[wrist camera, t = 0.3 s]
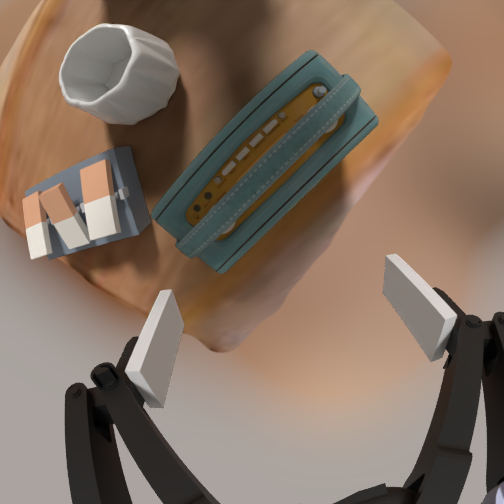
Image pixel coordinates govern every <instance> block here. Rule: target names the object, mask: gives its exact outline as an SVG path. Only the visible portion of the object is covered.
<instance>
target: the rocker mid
mask: <svg viewBox="0 0 504 504" xmlns="http://www.w3.org/2000/svg"><path fill="white" fill-rule="evenodd" d="M38 198H39V200H40V201H41V203H42V205H43V207H44V209H45V210H46V212H47V214H48V216H49V217H50V219H51V221H52V223H53V224H54V226H55V228H56V229H57V231H58V232H59V234H60V236H61V237H62V239H63V240H64V242H65V244H66V245H67V247H68V248H69V249H72V248H75V247H79V246H82V245H85V244H89V243H90V242H91V240H90V237H89V232H88V229H87V227H86V225H85V223H84V222H83V220H82V218H81V216H80V215H79V213H80V212H82V210H81V207H80V206H77V207H75V205H74V204H73V202H72V200H71V198H70V196H69V194H68V192H67V190H66V188H65V186H64V184H63V182H62V183H60V184H58V185H56V186H54V187H52V188H50V189H48V190H46V191H44V192H42V193H41V194H40V196H39V197H38Z"/></svg>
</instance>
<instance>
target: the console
mask: <svg viewBox="0 0 504 504" xmlns="http://www.w3.org/2000/svg"><path fill="white" fill-rule="evenodd" d="M104 159H106V160H109V161H110V164H111V172H112V180H113V187H114V193H115V192H119V195H120V199H117V200H116V207H117V212H118V218H119V223H120V228H121V233H117V234H113V235H110V236H106V237H103V238H100V239H96V240H91V242H90V243H89V244H85V245H82V246H79V247H75V248H72V249H69V248H68V247H67V245H66V244H65V242H64V240H63V239H62V237H61V236H60V234H59V232H58V231H57V229H56V228H55V226H54V224H53V223H52V221H51V219H50V221H51V224H50V225H48V231H49V237H50V242H51V248H52V253H51V254H48V255H47V257H48V259H49V260H51V259H54V258H57V257H61V256H64V255H67V254H71V253H74V252H77V251H81V250H84V249H88V248H91V247H95V246H98V245H102V244H106V243H109V242H113V241H117V240H120V239H124V238H128V237H132V236H136V235H139V234H140V233H141V232H142V231H143V230H144V229H145V228H146V227H147V226H148V225H149V224H150V223H151V222H152V221H151V218H150V215H149V212H148V208H147V205H146V202H145V199H144V195H143V192H142V188H141V185H140V181H139V178H138V174H137V170H136V167H135V163H134V159H133V155H132V151H131V147H130V146H124V147H117V148H112V149H110V150H107V151H105V152H103V153H100V154H98V155H96V156H93V157H91V158H89V159H87V160H84V161H82V162H80V163H78V164H76V165H74V166H72V167H70V168H68V169H66V170H64V171H62V172H60V173H58V174H56V175H54V176H52V177H50V178H48V179H46V180H44V181H43V182H41V183H39V184H37V185H35V186H34V187H32V188H30V189H28V190H27V191H25V194H26V197H28V196H30V195H31V194H33V193H35V192H37V191H46V190H48V189H50V188H52V187H54V186H56V185H58V184H60V183H62V182H63V184H64V186H65V188H66V190H67V192H68V194H69V196H70V198H71V200H72V202H73V204H74V205H75V207H77V206H80V207H81V210H82V212H80V213H79V215H80V216H81V218H82V220H83V222H84V223H85V225H86V227H87V229H88V226H87V221H86V215H85V208H84V201H83V194H82V185H81V176H80V170H81V169H83V168H86V167H88V166H90V165H92V164H95V163H97V162H99V161H102V160H104ZM46 217H47V219H48V218H50V217H49V216H48V214H47V212H46Z"/></svg>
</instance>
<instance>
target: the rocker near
mask: <svg viewBox="0 0 504 504" xmlns="http://www.w3.org/2000/svg"><path fill="white" fill-rule="evenodd" d="M80 176H81V185H82V194H83V201H84V208H85V215H86V221H87V226H88V232H89V237H90V240H96V239H100V238H103V237H106V236H110V235H113V234H117V233H121V228H120V223H119V218H118V212H117V207H116V200H117V199H120V195H119V192H115V193H114V187H113V180H112V172H111V164H110V161H109V160H106V159H104V160H102V161H99V162H97V163H95V164H92V165H90V166H88V167H86V168H83V169H81V170H80Z"/></svg>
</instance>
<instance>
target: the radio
mask: <svg viewBox="0 0 504 504" xmlns="http://www.w3.org/2000/svg"><path fill="white" fill-rule="evenodd" d="M360 92H361V88H360V87H359V86H358V84H357V83H356V82H355V81H354V80H353V79H352V78H351V77H350V76H349V75H348V74H343V75H340V74H339V73H338V72H337V71H336V70H335V69H334V68H333V67H332V66H331V65H330V64H329V63H328V62H327V61H326V60H325V59H324V58H323V57H322V56H321V55H319V54H318V52H316V51H314V50H309V51H307V52H305V53H304V54H303V55H301V56H300V57H299V58H298V59H297V60H295V61H294V62H293V63H292V64H291V65H289V66H288V67H287V68H286V69H285V70H284V71H282V72H281V73H280V74H279V75H278V76H277V77H276V78H274V79H273V80H272V81H271V82H270V83H269V84H268V85H267V86H266V87H264V88H263V89H262V90H261V91H260V92H259V93H258V94H257V95H256V96H255V97H254V98H253V99H252V100H251V101H249V102H248V103H247V104H246V105H245V106H244V107H243V108H242V109H241V110H240V111H239V112H238V113H237V114H236V115H235V116H234V117H233V118H232V119H231V120H230V121H229V122H228V123H227V124H226V125H225V126H224V127H223V128H222V130H221V131H220V132H219V133H218V134H217V135H216V136H215V137H214V138H213V139H212V140H211V141H210V142H209V143H208V144H207V146H206V147H205V148H204V149H203V150H202V151H201V152H200V153H199V154H198V156H197V157H196V158H195V159H194V160H193V161H192V162H191V163H190V165H189V166H188V167H187V168H186V169H185V170H184V172H183V173H182V174H181V175H180V176H179V177H178V179H177V180H176V181H175V182H174V183H173V185H172V186H171V187H170V188H169V190H168V191H167V192H166V193H165V195H164V196H163V197H162V198H161V200H160V201H159V202H158V203H157V205H156V206H155V207H154V208H153V210H152V212H151V216H152V218H153V220H156V222H157V223H158V224H159V225H160V226H161V227H163V228H164V229H165V230H166V231H167V232H168V233H170V234H171V235H172V236H173V237H174V238H176V239H177V242H176V244H175V245H176V248H178V249H179V250H180V251H181V252H183V253H184V254H185V255H186V256H187V257H189V258H193V257H195V256H197V257H199V258H200V259H201V260H202V261H204V262H205V263H206V264H207V265H208V266H210V267H211V268H212V269H213V270H216V272H218V273H221V274H222V273H225V272H227V271H228V270H229V269H230V268H231V267H232V266H233V265H234V264H235V263H236V262H237V261H238V260H239V259H240V258H241V257H242V256H243V255H244V254H245V253H246V252H247V251H248V250H249V249H250V248H251V247H252V246H253V245H254V244H255V243H256V242H257V241H258V240H259V239H260V238H261V237H262V236H264V235H265V234H266V233H267V232H268V231H269V230H270V229H271V228H272V227H273V226H274V225H275V224H276V223H277V222H278V221H279V220H280V219H281V218H282V217H283V216H284V215H285V214H286V213H287V212H288V211H289V210H291V209H292V208H293V207H294V206H295V205H296V204H297V203H298V202H299V201H300V200H301V199H302V198H303V197H305V195H306V194H307V193H308V192H309V191H311V189H312V188H314V187H315V186H317V184H318V183H319V181H320V180H321V179H322V178H323V177H324V176H325V175H326V174H327V173H329V172H330V171H331V170H332V169H333V168H334V167H335V166H336V165H337V164H338V163H339V162H340V161H341V160H342V159H343V158H344V157H345V156H346V155H347V154H348V153H349V152H350V151H351V150H352V149H353V148H354V147H355V146H357V145H358V144H359V143H360V142H361V141H362V140H363V139H364V138H365V137H366V136H367V135H368V134H369V133H370V132H371V131H372V130H373V129H374V128H375V127H376V126H377V125H378V122H379V120H378V117H377V115H375V113H374V112H373V111H372V109H371V108H370V107H369V106H368V105H367V103H366V102H365V101H364V100H363V99H362V98H361V96H360V95H359V94H360Z"/></svg>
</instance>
